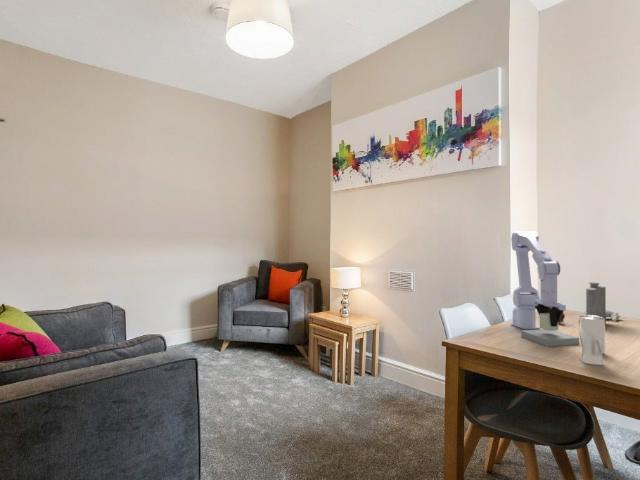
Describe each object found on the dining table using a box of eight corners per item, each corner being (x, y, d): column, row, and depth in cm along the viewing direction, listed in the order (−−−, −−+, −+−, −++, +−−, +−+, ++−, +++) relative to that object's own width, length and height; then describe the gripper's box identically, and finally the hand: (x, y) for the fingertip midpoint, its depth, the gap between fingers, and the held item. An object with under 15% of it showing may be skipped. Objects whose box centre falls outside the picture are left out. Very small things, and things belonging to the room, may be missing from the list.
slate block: (521, 337, 152) (521, 330, 152) (550, 335, 154) (550, 328, 154) (546, 347, 138) (546, 339, 138) (579, 345, 140) (579, 337, 140)
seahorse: (601, 323, 169) (625, 313, 177) (576, 310, 179) (600, 301, 187) (597, 332, 171) (622, 322, 179) (573, 319, 181) (597, 310, 189)
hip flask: (593, 328, 163) (593, 284, 163) (582, 326, 166) (582, 283, 166) (606, 323, 172) (606, 281, 172) (596, 322, 175) (596, 280, 175)
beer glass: (573, 359, 124) (573, 315, 124) (593, 358, 124) (592, 314, 124) (590, 366, 117) (590, 319, 117) (610, 365, 117) (610, 319, 117)
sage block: (539, 327, 148) (539, 313, 148) (549, 327, 149) (549, 312, 149) (548, 330, 144) (548, 315, 144) (558, 330, 144) (558, 315, 144)
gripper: (526, 288, 153) (527, 321, 153) (554, 294, 138) (554, 329, 138) (541, 288, 154) (541, 320, 154) (570, 293, 139) (570, 328, 140)
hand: (548, 324), depth 146 cm, fingers closed on sage block, 4 cm apart
